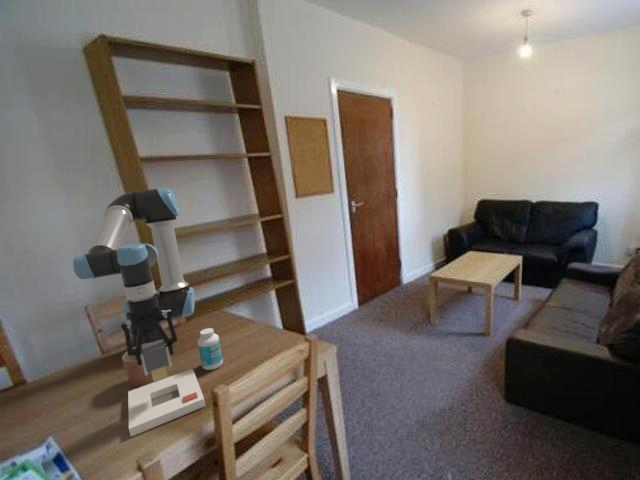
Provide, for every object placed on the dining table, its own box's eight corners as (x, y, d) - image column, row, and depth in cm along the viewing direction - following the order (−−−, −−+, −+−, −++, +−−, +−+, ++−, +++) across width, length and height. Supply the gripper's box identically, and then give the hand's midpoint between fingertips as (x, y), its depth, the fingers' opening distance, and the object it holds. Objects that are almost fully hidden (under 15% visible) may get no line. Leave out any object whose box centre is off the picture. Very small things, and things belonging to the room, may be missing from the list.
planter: (156, 365, 129) (150, 339, 126) (174, 374, 121) (168, 346, 119) (122, 384, 119) (115, 356, 117) (140, 395, 112) (132, 365, 109)
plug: (148, 375, 105) (141, 345, 103) (169, 368, 108) (163, 339, 106) (149, 384, 100) (142, 353, 98) (171, 376, 103) (165, 346, 101)
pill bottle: (217, 371, 120) (210, 336, 117) (198, 370, 122) (191, 336, 119) (227, 359, 127) (220, 326, 125) (209, 359, 129) (202, 326, 126)
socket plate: (130, 398, 110) (127, 390, 110) (194, 374, 120) (192, 367, 119) (130, 436, 93) (128, 427, 92) (205, 405, 102) (203, 397, 102)
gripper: (103, 310, 92) (122, 387, 96) (178, 291, 100) (193, 362, 105) (105, 302, 98) (123, 375, 103) (175, 285, 107) (189, 353, 111)
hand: (158, 368), depth 104 cm, fingers closed on plug, 6 cm apart
